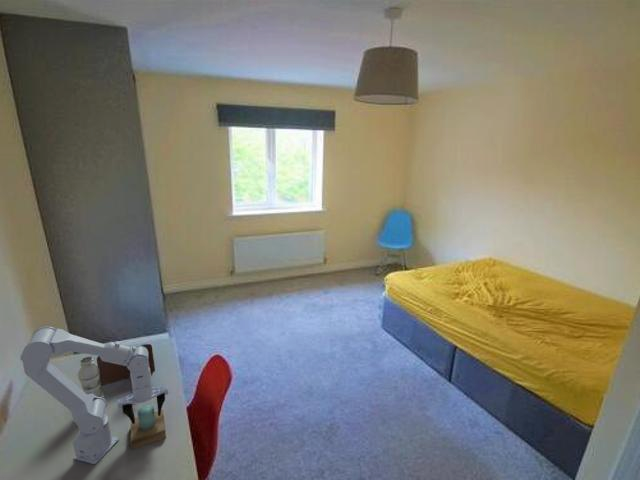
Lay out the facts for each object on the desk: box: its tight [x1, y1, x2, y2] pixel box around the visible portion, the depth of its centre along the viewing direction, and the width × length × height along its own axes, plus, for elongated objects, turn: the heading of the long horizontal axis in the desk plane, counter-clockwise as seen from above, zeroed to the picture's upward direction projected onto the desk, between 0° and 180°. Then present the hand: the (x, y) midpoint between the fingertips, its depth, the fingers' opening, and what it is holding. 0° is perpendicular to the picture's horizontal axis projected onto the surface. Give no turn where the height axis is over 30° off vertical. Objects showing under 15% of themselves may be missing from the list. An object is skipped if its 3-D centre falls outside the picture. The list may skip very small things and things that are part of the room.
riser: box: [130, 409, 167, 450], centre depth 114 cm, size 10×10×3 cm
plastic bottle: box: [77, 356, 106, 400], centre depth 122 cm, size 6×7×20 cm
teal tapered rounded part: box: [137, 404, 156, 430], centre depth 113 cm, size 5×5×6 cm
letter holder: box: [96, 343, 156, 386], centre depth 143 cm, size 10×20×14 cm, turn 119°
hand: (146, 417), depth 113 cm, fingers open, 7 cm apart
